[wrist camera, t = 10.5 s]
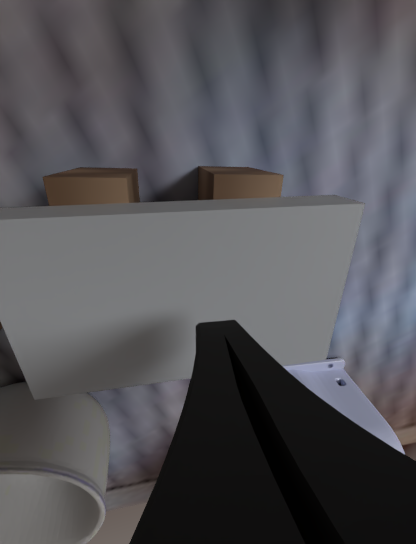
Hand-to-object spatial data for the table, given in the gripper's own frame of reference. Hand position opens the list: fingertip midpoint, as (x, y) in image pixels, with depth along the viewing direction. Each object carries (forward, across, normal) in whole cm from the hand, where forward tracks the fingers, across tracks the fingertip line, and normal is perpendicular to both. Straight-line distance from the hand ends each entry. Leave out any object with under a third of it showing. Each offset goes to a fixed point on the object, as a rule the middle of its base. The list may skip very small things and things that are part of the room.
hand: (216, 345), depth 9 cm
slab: (+4, +1, 0) cm, 4 cm away
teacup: (+10, +12, +15) cm, 21 cm away
